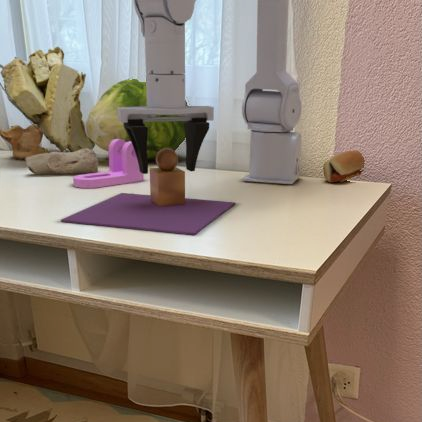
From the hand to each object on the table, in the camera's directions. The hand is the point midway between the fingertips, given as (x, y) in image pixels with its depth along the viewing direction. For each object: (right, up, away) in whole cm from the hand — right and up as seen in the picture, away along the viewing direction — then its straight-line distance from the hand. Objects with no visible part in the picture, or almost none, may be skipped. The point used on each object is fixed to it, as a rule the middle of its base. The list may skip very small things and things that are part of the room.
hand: (167, 171), depth 94 cm
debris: (-30, +25, +37) cm, 54 cm away
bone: (-34, +17, +42) cm, 57 cm away
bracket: (-13, +4, +18) cm, 22 cm away
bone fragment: (-18, +7, +21) cm, 29 cm away
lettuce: (-6, +15, +37) cm, 41 cm away
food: (+32, +11, +23) cm, 41 cm away
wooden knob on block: (0, -4, +2) cm, 5 cm away
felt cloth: (-2, -7, -3) cm, 8 cm away
